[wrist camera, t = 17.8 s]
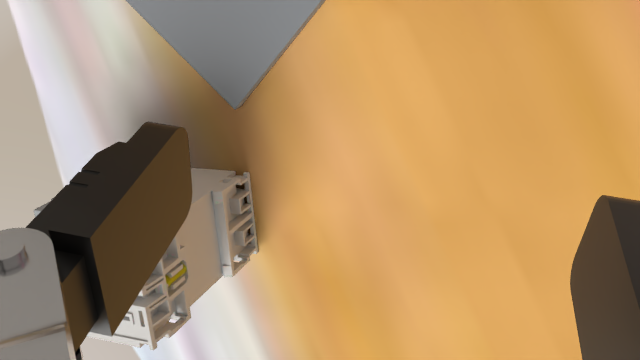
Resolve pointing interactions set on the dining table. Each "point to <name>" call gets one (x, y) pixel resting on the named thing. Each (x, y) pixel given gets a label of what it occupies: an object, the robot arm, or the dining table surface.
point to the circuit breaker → (192, 257)
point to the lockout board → (229, 37)
